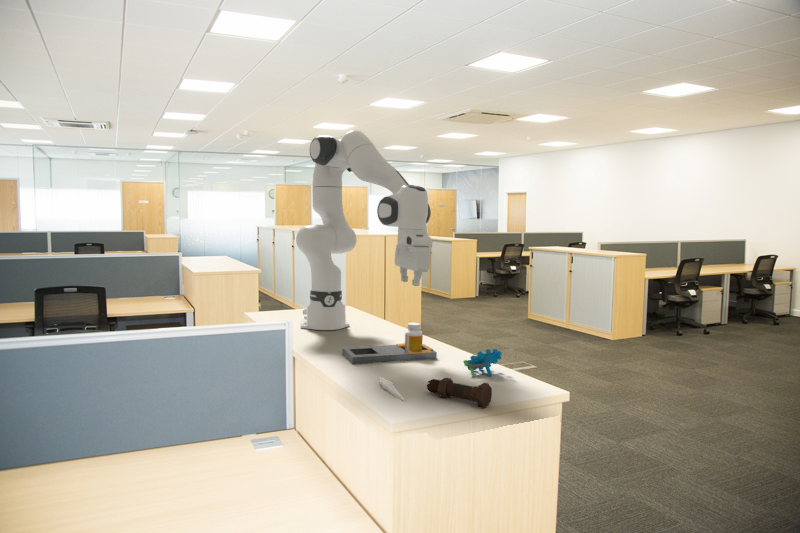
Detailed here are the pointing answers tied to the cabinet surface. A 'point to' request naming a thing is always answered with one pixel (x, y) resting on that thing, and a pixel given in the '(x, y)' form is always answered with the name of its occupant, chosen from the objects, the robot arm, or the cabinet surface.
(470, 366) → the blue lobed piece
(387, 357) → the gray and orange holder
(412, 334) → the supplement bottle
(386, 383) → the stone spearhead
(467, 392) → the bolt
